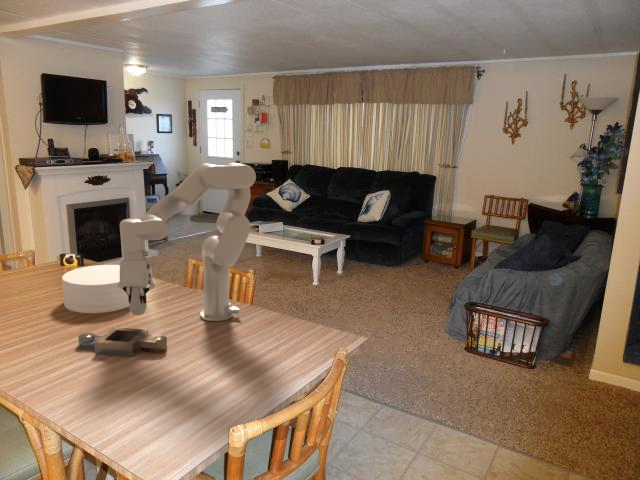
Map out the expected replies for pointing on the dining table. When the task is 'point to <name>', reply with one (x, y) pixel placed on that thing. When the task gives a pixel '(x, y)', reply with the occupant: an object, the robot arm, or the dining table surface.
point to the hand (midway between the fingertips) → (137, 304)
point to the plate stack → (94, 289)
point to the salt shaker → (137, 302)
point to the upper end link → (140, 340)
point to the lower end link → (89, 343)
